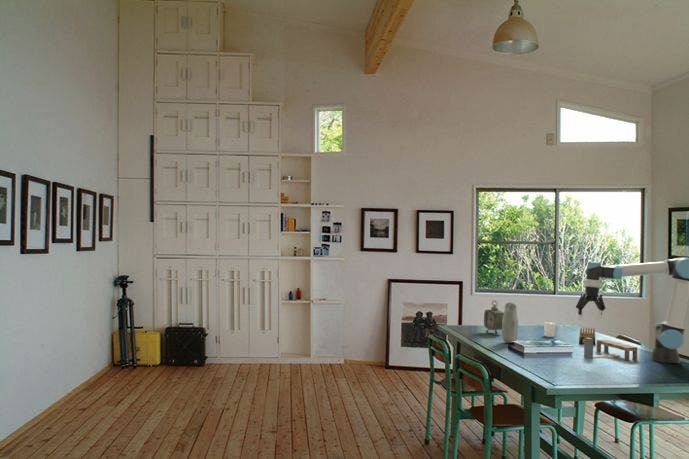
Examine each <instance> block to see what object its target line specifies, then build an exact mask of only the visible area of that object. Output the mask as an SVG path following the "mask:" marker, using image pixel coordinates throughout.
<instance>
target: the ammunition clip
mask: <svg viewBox="0 0 689 459" xmlns="http://www.w3.org/2000/svg"><path fill="white" fill-rule="evenodd" d="M585 338H592V339H593V346H596V330H595V327H588V328H587V326H586V327H580V328H579V338H578V345H584V340H585Z"/></svg>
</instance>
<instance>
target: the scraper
mask: <svg viewBox="0 0 689 459" xmlns="http://www.w3.org/2000/svg"><path fill="white" fill-rule="evenodd" d="M583 347H584V348H583V349H584V350H583V351H584V352H583V353H584V354H583V358H586V359H589V360H590V359H597V358H599V359H600V358H601V359H602V358H607V359H614V357H613V356H612V355H610V354H608V353H601V354H600V355H594V345H593V339H592V338H585V340H584V346H583Z"/></svg>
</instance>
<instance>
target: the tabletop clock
mask: <svg viewBox="0 0 689 459" xmlns="http://www.w3.org/2000/svg"><path fill="white" fill-rule="evenodd" d="M494 302H495V303H496V304H493V303H494ZM491 304H492V306H491V308H490V309H485V310H484V314H483V325H484V326H483V327H485V328H486V329H487V330H485V332H486V333H488V332H489V330H490V331H494V333H493V335H494V336H496V335H498V333H499V332H498V331H500V330H501V331H502V318H503V315H504V312H503V311H502V310H499V309H498V301H496V300H492V301H491Z"/></svg>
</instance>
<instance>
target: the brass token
mask: <svg viewBox="0 0 689 459" xmlns="http://www.w3.org/2000/svg"><path fill="white" fill-rule="evenodd" d="M611 356H613V358H614V357H615V358H620V357H621V355H620V354H618V353H612V355H611Z"/></svg>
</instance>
